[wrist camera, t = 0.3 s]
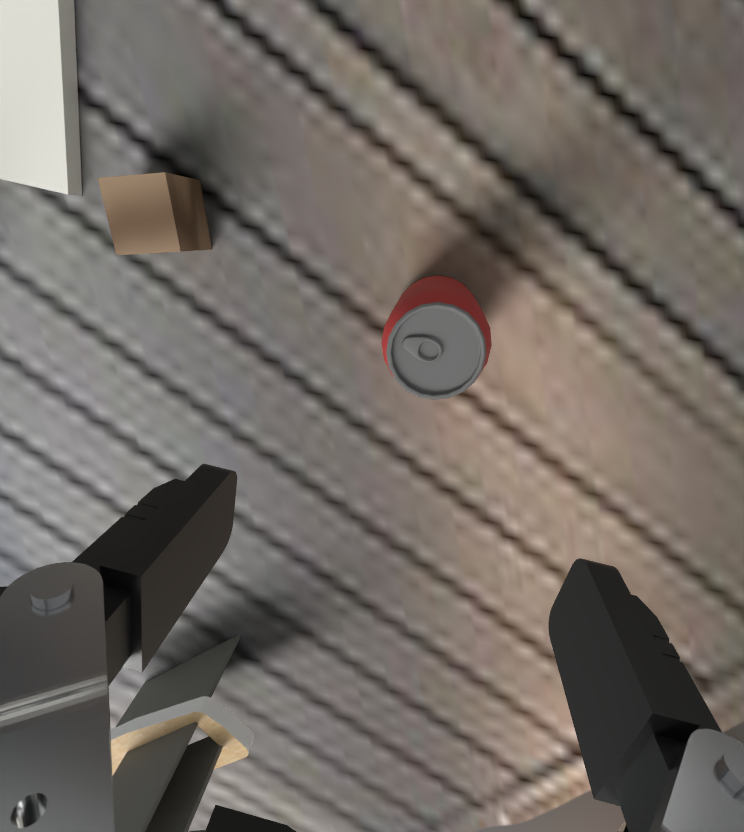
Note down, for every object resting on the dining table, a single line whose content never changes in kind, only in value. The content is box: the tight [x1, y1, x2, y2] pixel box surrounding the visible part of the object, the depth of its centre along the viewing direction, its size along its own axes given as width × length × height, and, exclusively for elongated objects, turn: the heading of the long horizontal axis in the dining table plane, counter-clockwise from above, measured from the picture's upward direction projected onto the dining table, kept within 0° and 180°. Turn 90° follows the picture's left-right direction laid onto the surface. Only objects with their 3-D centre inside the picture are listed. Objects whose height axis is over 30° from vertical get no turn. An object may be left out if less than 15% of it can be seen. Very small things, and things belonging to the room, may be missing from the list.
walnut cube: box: [98, 172, 212, 255], centre depth 34 cm, size 5×5×5 cm
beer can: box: [382, 275, 491, 400], centre depth 31 cm, size 7×7×12 cm
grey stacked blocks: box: [110, 635, 254, 832], centre depth 47 cm, size 38×25×20 cm, turn 127°
